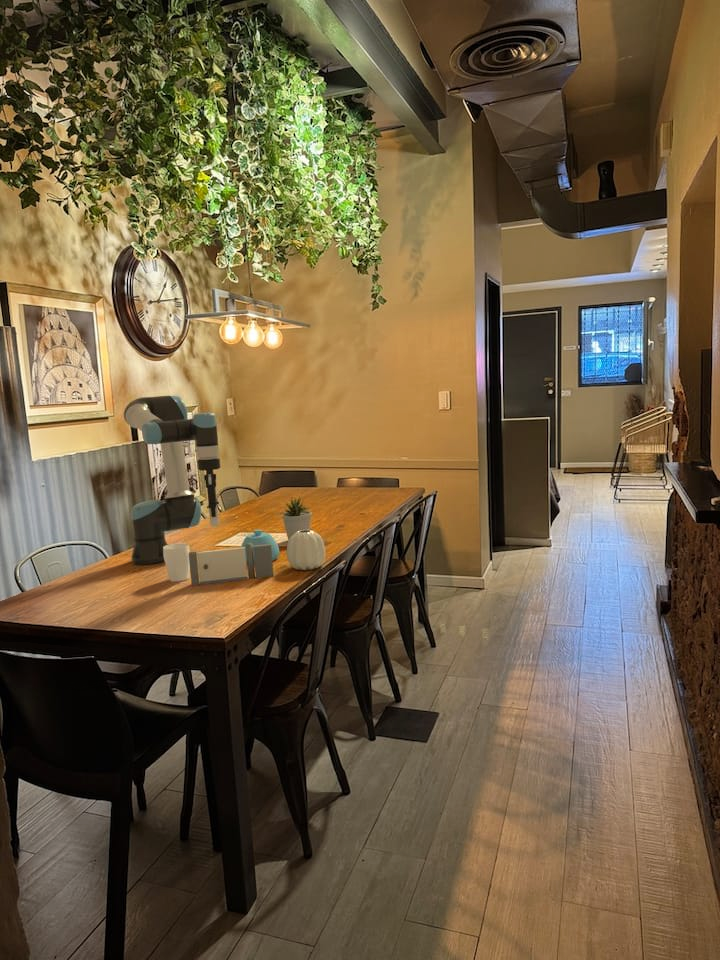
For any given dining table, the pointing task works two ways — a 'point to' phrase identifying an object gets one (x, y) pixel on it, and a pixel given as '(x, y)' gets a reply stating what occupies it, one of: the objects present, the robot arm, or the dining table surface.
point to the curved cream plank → (222, 564)
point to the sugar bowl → (261, 542)
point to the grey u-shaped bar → (261, 564)
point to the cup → (177, 561)
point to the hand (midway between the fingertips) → (214, 524)
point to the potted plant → (296, 518)
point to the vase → (305, 550)
